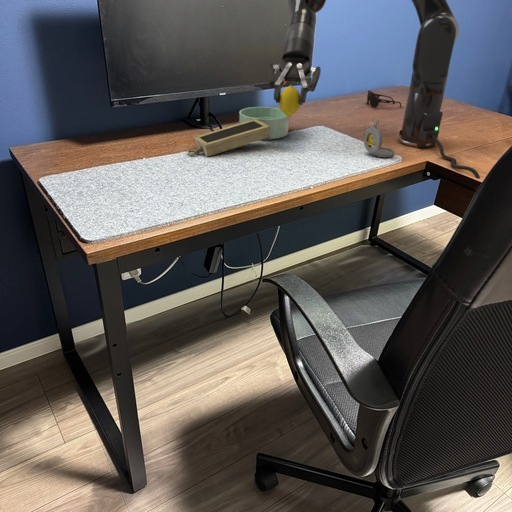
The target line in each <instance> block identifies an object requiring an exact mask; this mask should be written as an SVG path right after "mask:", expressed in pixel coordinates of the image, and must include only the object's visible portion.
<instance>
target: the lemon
mask: <svg viewBox="0 0 512 512" xmlns="http://www.w3.org/2000/svg"><path fill="white" fill-rule="evenodd" d="M299 99H300V92H299V90H298V89H297V88H296V87H294V85H291V84H290V85H288V86H287V87H284V88H283V89H282V90H281V93H280V98H279V103H278V106H279V109H281V111H282V112H283V113H284V114H286V115H287V117H289V118H290V117H291V116H292V115H294V114H296V113H297V112H298V111H299V109H300V106H301V105H299Z"/></svg>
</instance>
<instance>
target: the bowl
mask: <svg viewBox="0 0 512 512" xmlns="http://www.w3.org/2000/svg"><path fill="white" fill-rule="evenodd" d="M253 119H257V120H259V121H261V122H263V123H265V124H267V125H269V126H270V133H269V136H270V138H269V139H266V140H267V141H269V140H276V139H281V138H284V137H287V135H288V133H289V125H290V124H289V123H290V117H287V115H286V114H284V113H283V112H282V111H281V109H280V108H278V107H277V108H276V107H271V106H251V107H245V108H242V109H240V110H239V112H238V124H240V123H243V122H247V121H250V120H253ZM266 140H265V141H266Z"/></svg>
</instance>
